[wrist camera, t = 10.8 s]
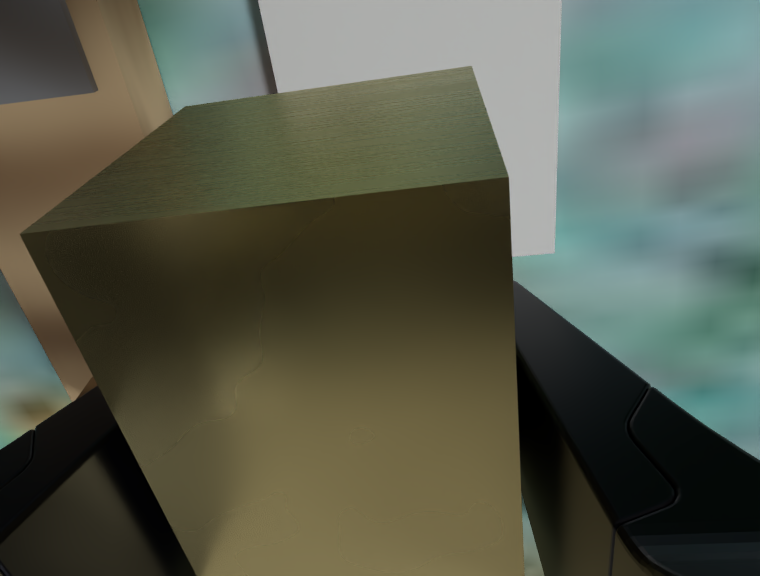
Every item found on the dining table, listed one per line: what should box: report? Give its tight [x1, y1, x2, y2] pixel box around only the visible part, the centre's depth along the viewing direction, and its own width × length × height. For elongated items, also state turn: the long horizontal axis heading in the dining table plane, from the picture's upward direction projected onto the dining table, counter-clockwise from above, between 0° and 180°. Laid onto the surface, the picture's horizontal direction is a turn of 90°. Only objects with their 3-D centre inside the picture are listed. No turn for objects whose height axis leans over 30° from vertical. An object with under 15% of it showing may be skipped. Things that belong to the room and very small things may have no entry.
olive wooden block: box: [20, 66, 524, 576], centre depth 8 cm, size 7×4×4 cm, turn 8°
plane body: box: [0, 0, 173, 402], centre depth 19 cm, size 22×7×6 cm, turn 7°
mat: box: [258, 0, 562, 257], centre depth 19 cm, size 12×9×1 cm
